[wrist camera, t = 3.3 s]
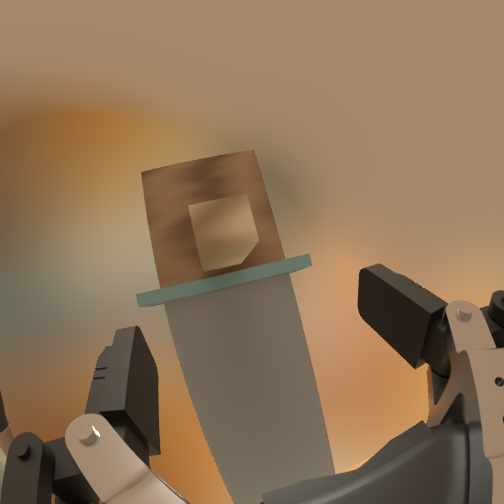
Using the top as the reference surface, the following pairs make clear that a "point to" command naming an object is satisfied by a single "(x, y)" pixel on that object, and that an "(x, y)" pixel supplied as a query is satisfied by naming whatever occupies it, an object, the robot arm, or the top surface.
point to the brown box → (209, 218)
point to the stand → (250, 376)
